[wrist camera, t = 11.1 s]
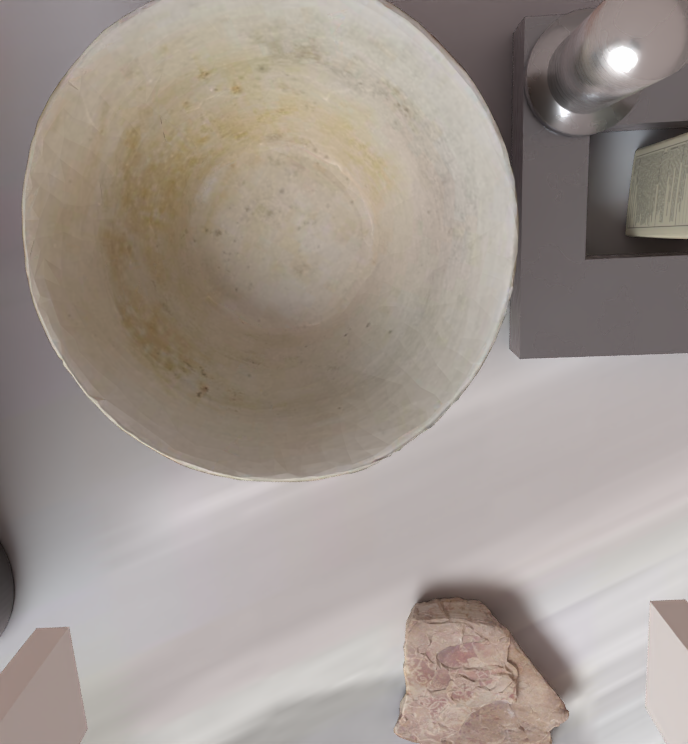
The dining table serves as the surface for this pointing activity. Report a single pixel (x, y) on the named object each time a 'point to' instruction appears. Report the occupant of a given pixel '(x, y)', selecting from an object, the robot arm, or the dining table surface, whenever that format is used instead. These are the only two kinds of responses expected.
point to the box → (659, 191)
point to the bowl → (270, 232)
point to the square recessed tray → (568, 238)
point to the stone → (471, 680)
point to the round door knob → (603, 62)
